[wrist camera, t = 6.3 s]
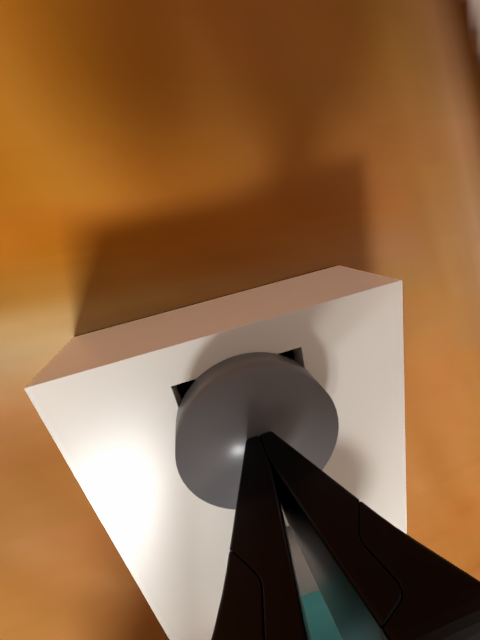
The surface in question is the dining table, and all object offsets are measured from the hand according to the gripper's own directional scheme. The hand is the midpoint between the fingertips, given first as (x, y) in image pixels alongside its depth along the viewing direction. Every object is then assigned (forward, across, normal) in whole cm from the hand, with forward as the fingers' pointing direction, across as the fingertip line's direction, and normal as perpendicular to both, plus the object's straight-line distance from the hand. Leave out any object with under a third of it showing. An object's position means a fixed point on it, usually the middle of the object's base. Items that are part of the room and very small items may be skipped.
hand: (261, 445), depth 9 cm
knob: (+4, 0, 0) cm, 4 cm away
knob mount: (+5, 0, +8) cm, 10 cm away
